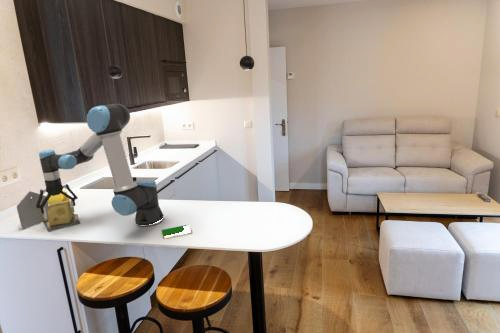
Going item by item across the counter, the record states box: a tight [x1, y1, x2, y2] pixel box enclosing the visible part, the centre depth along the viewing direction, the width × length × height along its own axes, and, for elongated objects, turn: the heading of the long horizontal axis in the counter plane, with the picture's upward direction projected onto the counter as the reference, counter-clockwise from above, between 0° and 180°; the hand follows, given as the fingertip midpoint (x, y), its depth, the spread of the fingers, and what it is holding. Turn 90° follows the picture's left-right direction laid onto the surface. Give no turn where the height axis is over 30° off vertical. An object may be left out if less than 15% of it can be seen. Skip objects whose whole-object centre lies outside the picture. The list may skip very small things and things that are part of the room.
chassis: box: [42, 207, 81, 233], centre depth 190 cm, size 16×16×5 cm
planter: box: [16, 190, 49, 231], centre depth 190 cm, size 16×8×19 cm, turn 152°
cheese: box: [48, 201, 73, 226], centre depth 189 cm, size 10×11×10 cm
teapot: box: [48, 189, 71, 206], centre depth 217 cm, size 18×11×11 cm, turn 64°
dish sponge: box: [161, 224, 187, 237], centre depth 170 cm, size 7×14×2 cm, turn 110°
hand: (60, 215), depth 189 cm, fingers open, 13 cm apart
